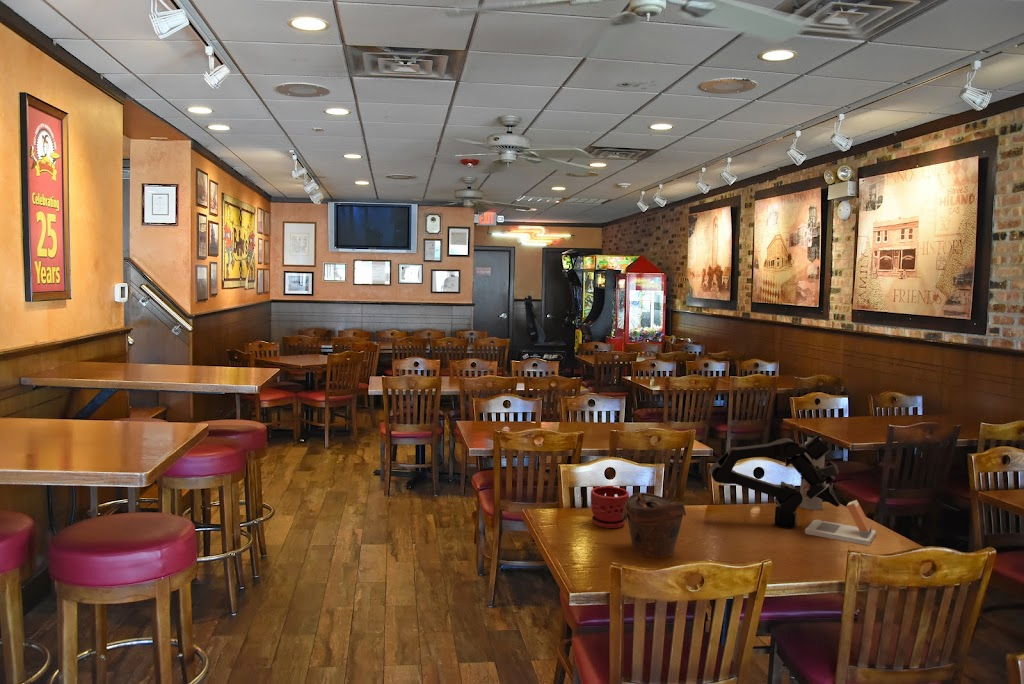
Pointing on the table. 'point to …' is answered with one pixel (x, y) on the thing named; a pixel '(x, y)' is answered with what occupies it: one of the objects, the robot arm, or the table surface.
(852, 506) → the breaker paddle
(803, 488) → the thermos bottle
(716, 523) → the table surface
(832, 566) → the table surface
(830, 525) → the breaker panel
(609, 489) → the plant pot
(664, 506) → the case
